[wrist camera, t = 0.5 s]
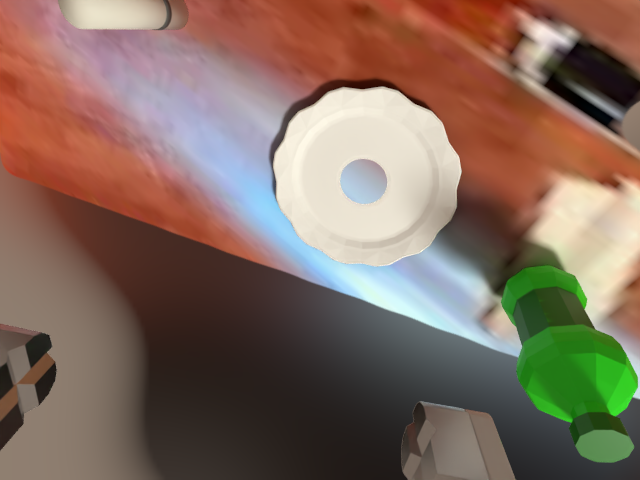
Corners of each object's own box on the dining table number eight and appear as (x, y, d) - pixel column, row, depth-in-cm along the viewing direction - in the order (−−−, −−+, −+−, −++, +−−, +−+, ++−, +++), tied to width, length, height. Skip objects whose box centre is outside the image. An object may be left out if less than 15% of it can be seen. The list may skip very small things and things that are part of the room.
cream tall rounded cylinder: (161, -13, 49) (57, -31, 35) (191, 0, 49) (98, -12, 35) (157, 22, 51) (57, 18, 37) (185, 35, 51) (95, 36, 37)
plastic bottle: (580, 309, 55) (676, 487, 34) (499, 316, 59) (539, 480, 37) (577, 247, 51) (684, 403, 30) (490, 259, 55) (530, 405, 33)
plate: (269, 86, 51) (264, 88, 50) (471, 83, 46) (473, 85, 44) (285, 252, 63) (281, 258, 61) (447, 266, 57) (448, 273, 56)
